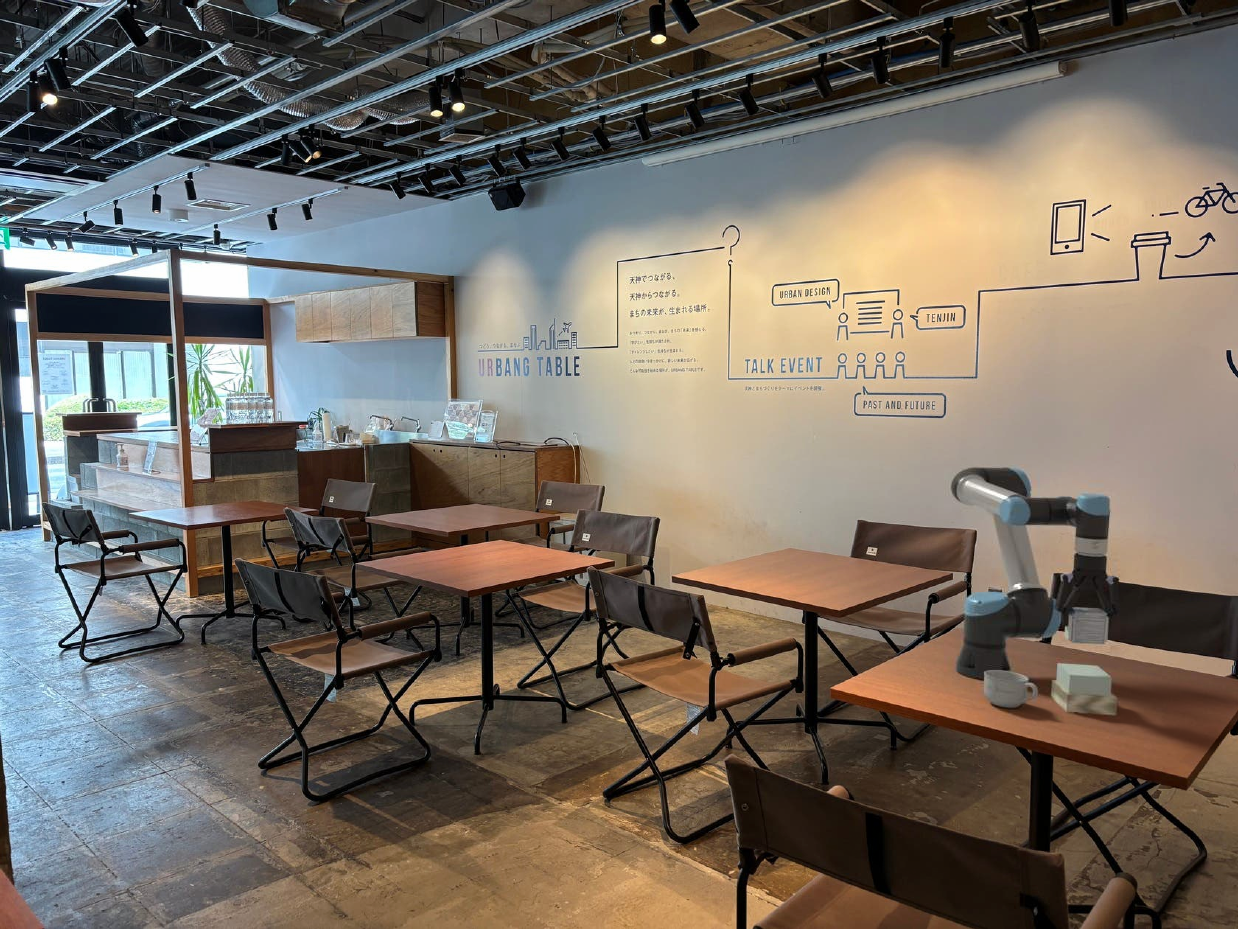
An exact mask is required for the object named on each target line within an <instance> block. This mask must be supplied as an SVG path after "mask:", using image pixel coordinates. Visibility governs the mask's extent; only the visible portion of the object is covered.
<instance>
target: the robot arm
mask: <svg viewBox="0 0 1238 929" xmlns="http://www.w3.org/2000/svg"><path fill="white" fill-rule="evenodd" d="M950 491H951V494H952V496H953V497H954V499H955V500H956V501H957V502H959V503H961V504H963V505H966V506H976V507H979V508H982V509H984V510H986V513H987V514H988V515H990V516H992V517H993V521H994V527H995V531H996V535H997V540H998V546H999V550H1000V554H1001V560H1002V562H1003V568H1004V571H1005V577H1006V582H1007V586H1008V590H1007V591H1006V592H1005V593H1004V592H1000V591H993V592H992V591H982V592H981V591H979V592H976V593H975V592H974V593H972V594H970V595H968V596H967V597H966V599H965V605H964V609H963V613H964V614H963V615H964V617H963V641H962V646H961V649H960V651H959V653H958V656H957V658H956V660H955V671H956V672H958V673H959V674H961V675H963V676H966V677H969V678H974V679H977V678H978V680H983V681H984V676H985V675H984V672H985V671H988V670H1001V671H1009V672H1012V666H1011V662H1010V658H1009V656H1008V652H1007V639H1040V638H1041V639H1045V638H1046V639H1047V638H1051V637H1054V636H1055V635H1056V633H1057V632H1058V631H1059V628H1060V625H1062V626H1063V627H1064V638H1066V639H1067V641H1070V640H1071V636H1072V618H1073V615H1071V614H1070V612H1071V610H1072V608H1073V607H1074V606H1075V604H1076V602H1077V600H1078V599H1079V597H1080V595H1081V593H1083V591H1084V590H1093V591H1095V592H1096V595H1097V597H1098V599H1099V600H1098V601H1099V603H1100V604H1101V606H1102V610H1103V611H1105V612H1106V613H1107V616H1106V631H1105V643H1107V642H1108V635H1109V630H1110V629H1112V628H1113V618H1115V616H1120V615H1121V614H1122V610H1121V603H1120V595H1119V587H1118V586H1119V582H1120V578H1119V577H1118V576H1115V575H1109V574H1107V567H1108V566H1107V564H1108V556H1106V555H1107V554H1108V548H1109V547H1108V546H1109V530H1110V516H1111V509H1110V508H1111V507H1110V505H1111V504H1110V503H1111V501H1110V500H1111V499H1110V498H1109V496H1107V495H1105V494H1099V493H1098V494H1097V493H1081V494H1079V495H1078V496H1077V498H1076V497H1075V498H1074V497H1072V496H1063V495H1062V496H1056V497H1032V493H1031V492H1032V486H1031V481H1030V480H1029V476H1027V474H1026V473H1025V472H1024V471H1023V470H1021V469H1020V468H1014V467H1009V466H1005V467H973V466H972V467H968V468H964V469H963V470H961V471H959V472H957V474H955V475H954V477H953V478H952V481H951V484H950ZM1027 526H1063V527H1064V526H1067V527H1068V526H1069V527H1074V528H1075V535H1074V536H1075V539H1074V552H1075V553H1074V555H1073V570H1072V572H1071V573H1063V572H1062V573H1060V575H1059V579H1060V585H1059V587H1058V588H1059V589H1058V593H1057V596H1056V598H1054V597H1049V593H1048V589H1047V588H1045V587H1044V586H1042V585H1041V583H1040V579H1039V574H1038V570H1037V567H1036V563H1035V558H1034V557H1035V556H1034V554H1033V549H1032V545H1031V541H1030V538H1029V537H1030V536H1029V533H1028V528H1027ZM1072 579H1073V580H1074V582H1075V584H1074V585H1073V587H1072V589H1071V592H1070V594H1069V596H1068V597H1067V595H1068V594H1067V593H1068V589H1069V585H1070V584H1069V583H1071V581H1072ZM1106 581H1107V584H1108V588H1109V589H1108V590H1109V596H1110V597H1109V598H1110V603H1111V604H1110V603H1109V600H1108V597H1107V596H1106V593H1105V589H1104V587H1103V584H1104V583H1105V582H1106ZM1066 598H1067V599H1066Z"/></svg>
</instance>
